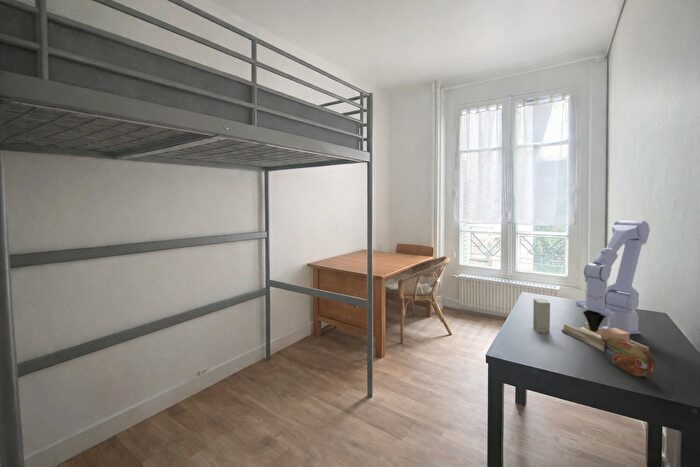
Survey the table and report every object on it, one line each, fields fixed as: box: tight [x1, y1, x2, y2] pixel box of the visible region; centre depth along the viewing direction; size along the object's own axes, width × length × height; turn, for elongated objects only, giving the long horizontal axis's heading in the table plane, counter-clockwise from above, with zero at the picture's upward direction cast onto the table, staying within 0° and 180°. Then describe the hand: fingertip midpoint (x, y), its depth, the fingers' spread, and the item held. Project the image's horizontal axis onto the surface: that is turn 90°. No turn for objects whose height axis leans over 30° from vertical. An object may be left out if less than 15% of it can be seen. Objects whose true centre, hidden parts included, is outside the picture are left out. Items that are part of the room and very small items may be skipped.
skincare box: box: [532, 298, 551, 334], centre depth 135 cm, size 6×4×12 cm
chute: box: [561, 321, 652, 355], centre depth 122 cm, size 12×24×3 cm, turn 10°
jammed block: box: [601, 328, 631, 342], centre depth 118 cm, size 6×5×5 cm
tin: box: [603, 338, 656, 377], centre depth 103 cm, size 15×3×8 cm, turn 5°
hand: (593, 330), depth 126 cm, fingers closed
